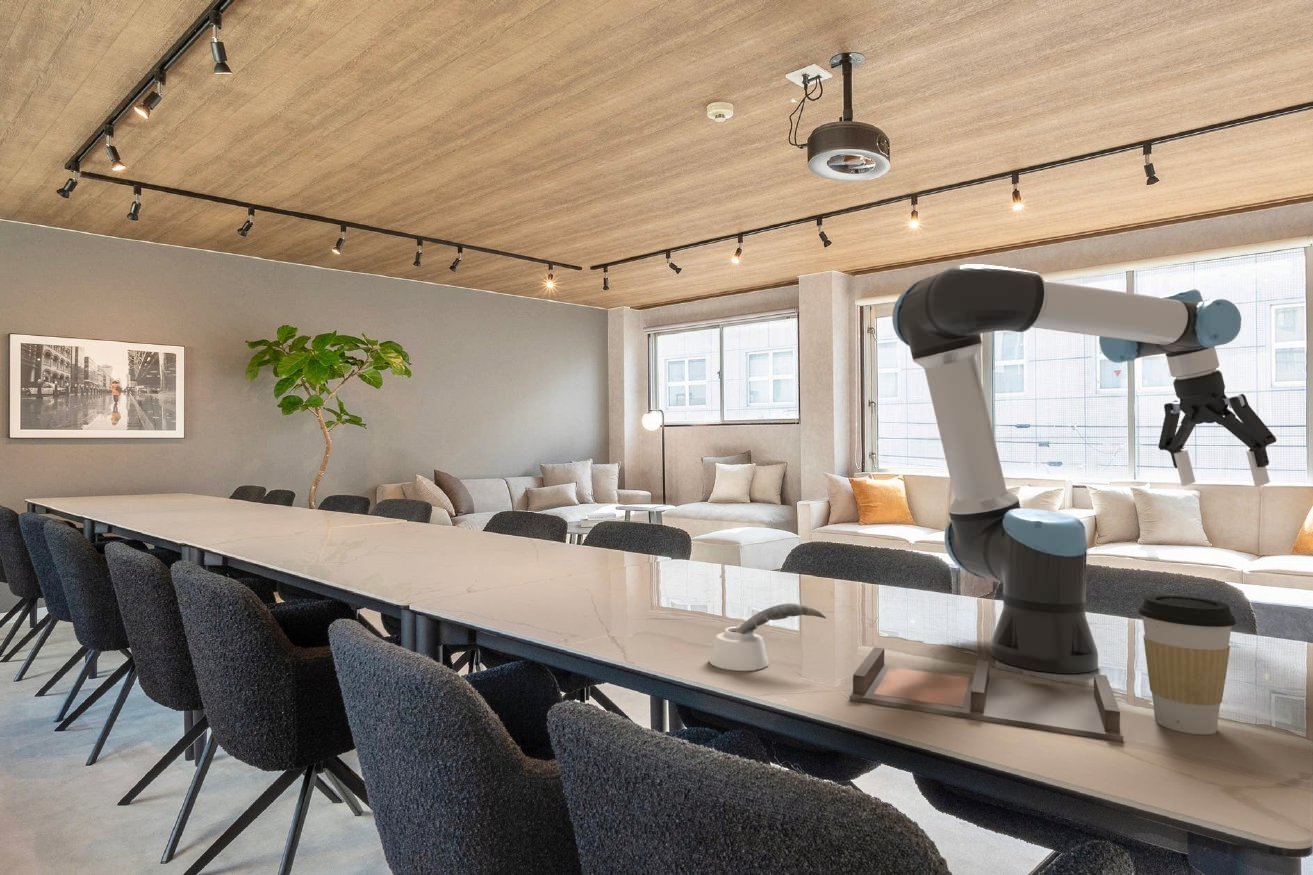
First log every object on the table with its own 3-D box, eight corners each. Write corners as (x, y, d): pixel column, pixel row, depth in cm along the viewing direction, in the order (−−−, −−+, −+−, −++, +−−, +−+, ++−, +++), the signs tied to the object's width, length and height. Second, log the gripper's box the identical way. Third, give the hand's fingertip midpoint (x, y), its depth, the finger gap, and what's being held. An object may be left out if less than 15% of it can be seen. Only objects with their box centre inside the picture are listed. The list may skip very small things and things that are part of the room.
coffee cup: (1240, 724, 94) (1241, 602, 94) (1229, 747, 87) (1230, 614, 87) (1147, 705, 101) (1147, 590, 101) (1129, 724, 94) (1130, 601, 94)
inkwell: (719, 652, 124) (720, 590, 124) (832, 665, 118) (832, 600, 118) (700, 667, 116) (701, 600, 116) (821, 682, 109) (821, 611, 109)
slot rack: (849, 699, 101) (849, 676, 101) (873, 665, 118) (873, 645, 118) (1123, 741, 88) (1123, 714, 88) (1107, 696, 104) (1107, 673, 104)
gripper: (1282, 359, 132) (1311, 478, 132) (1148, 377, 155) (1174, 478, 156) (1252, 369, 129) (1282, 491, 130) (1121, 386, 153) (1148, 488, 154)
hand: (1224, 484), depth 143 cm, fingers open, 13 cm apart
